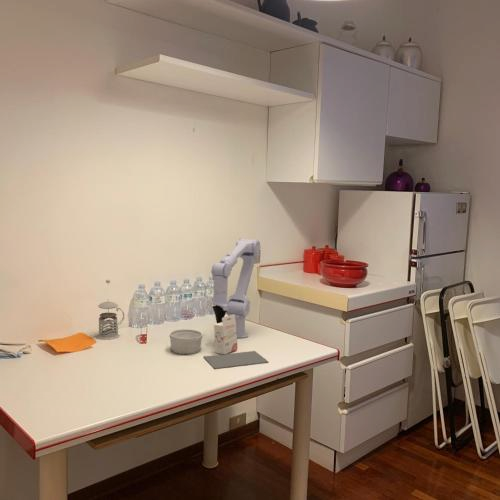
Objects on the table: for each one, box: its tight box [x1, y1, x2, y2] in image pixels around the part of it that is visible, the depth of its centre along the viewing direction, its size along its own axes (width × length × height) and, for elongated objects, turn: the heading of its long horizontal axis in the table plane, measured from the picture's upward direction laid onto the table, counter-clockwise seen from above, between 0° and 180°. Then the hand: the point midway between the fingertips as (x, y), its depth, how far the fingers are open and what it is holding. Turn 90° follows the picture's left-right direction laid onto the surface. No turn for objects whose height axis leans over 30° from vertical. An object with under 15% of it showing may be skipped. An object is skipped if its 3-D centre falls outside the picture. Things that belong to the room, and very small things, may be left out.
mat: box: [203, 350, 270, 370], centre depth 195 cm, size 13×22×1 cm, turn 113°
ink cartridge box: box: [213, 314, 238, 355], centre depth 204 cm, size 9×5×15 cm, turn 143°
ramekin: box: [169, 328, 203, 355], centre depth 204 cm, size 13×13×7 cm
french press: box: [95, 279, 125, 341], centre depth 217 cm, size 10×12×25 cm
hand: (219, 323), depth 211 cm, fingers closed
